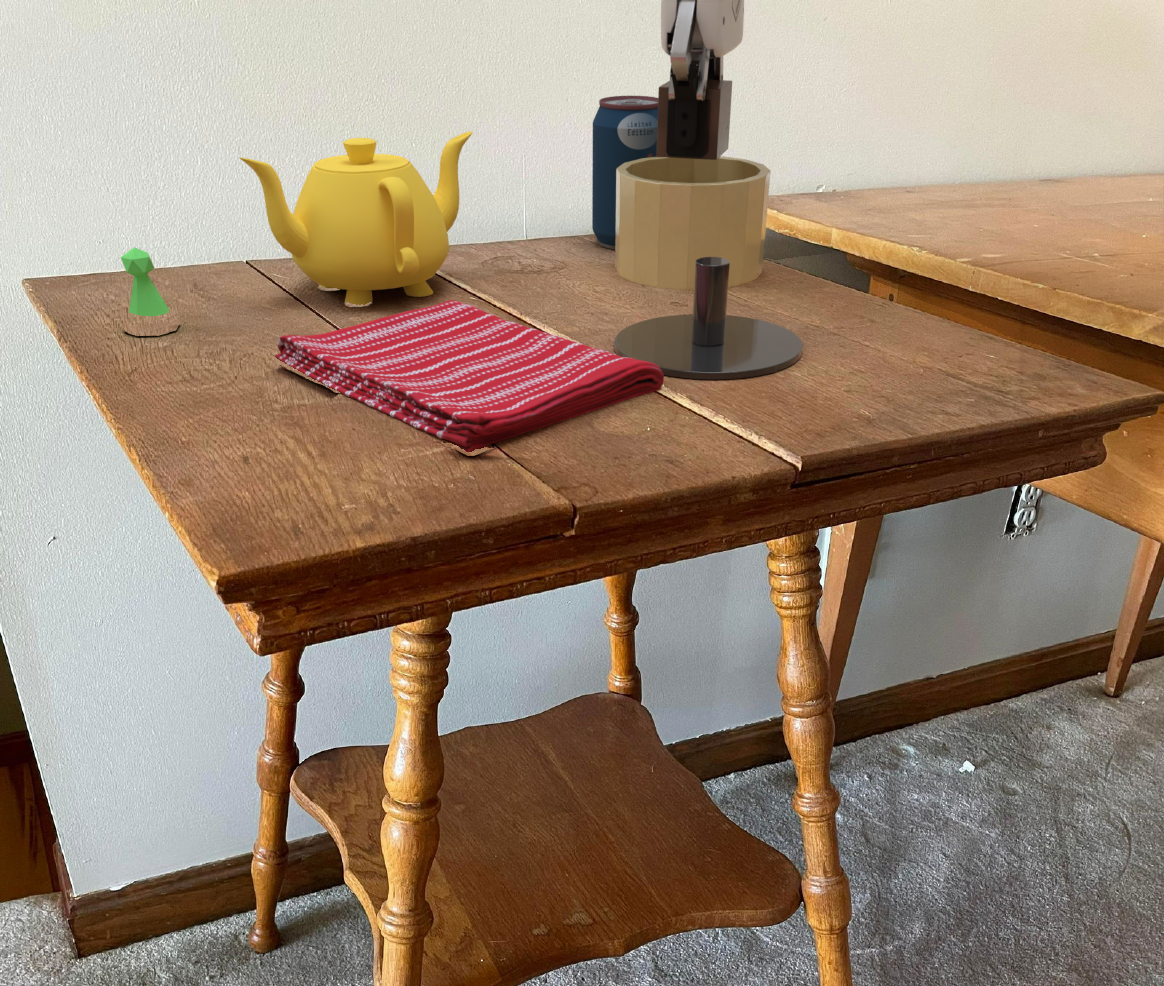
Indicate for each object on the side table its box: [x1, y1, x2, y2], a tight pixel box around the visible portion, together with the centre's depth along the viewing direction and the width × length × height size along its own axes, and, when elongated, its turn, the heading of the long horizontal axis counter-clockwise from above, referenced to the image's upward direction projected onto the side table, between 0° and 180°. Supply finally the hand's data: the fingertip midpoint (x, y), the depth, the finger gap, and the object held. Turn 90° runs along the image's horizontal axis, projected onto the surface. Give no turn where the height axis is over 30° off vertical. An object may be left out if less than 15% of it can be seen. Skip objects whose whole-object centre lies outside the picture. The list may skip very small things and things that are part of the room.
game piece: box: [120, 247, 170, 316], centre depth 91 cm, size 4×4×6 cm
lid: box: [613, 257, 804, 381], centre depth 85 cm, size 14×14×7 cm
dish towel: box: [274, 299, 665, 452], centre depth 82 cm, size 17×24×3 cm
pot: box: [614, 155, 771, 291], centre depth 102 cm, size 13×13×8 cm
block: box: [657, 79, 733, 160], centre depth 97 cm, size 5×5×5 cm
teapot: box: [238, 131, 473, 305], centre depth 97 cm, size 20×15×12 cm
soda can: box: [591, 95, 658, 250], centre depth 110 cm, size 7×7×12 cm
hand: (693, 147), depth 98 cm, fingers closed on block, 5 cm apart
